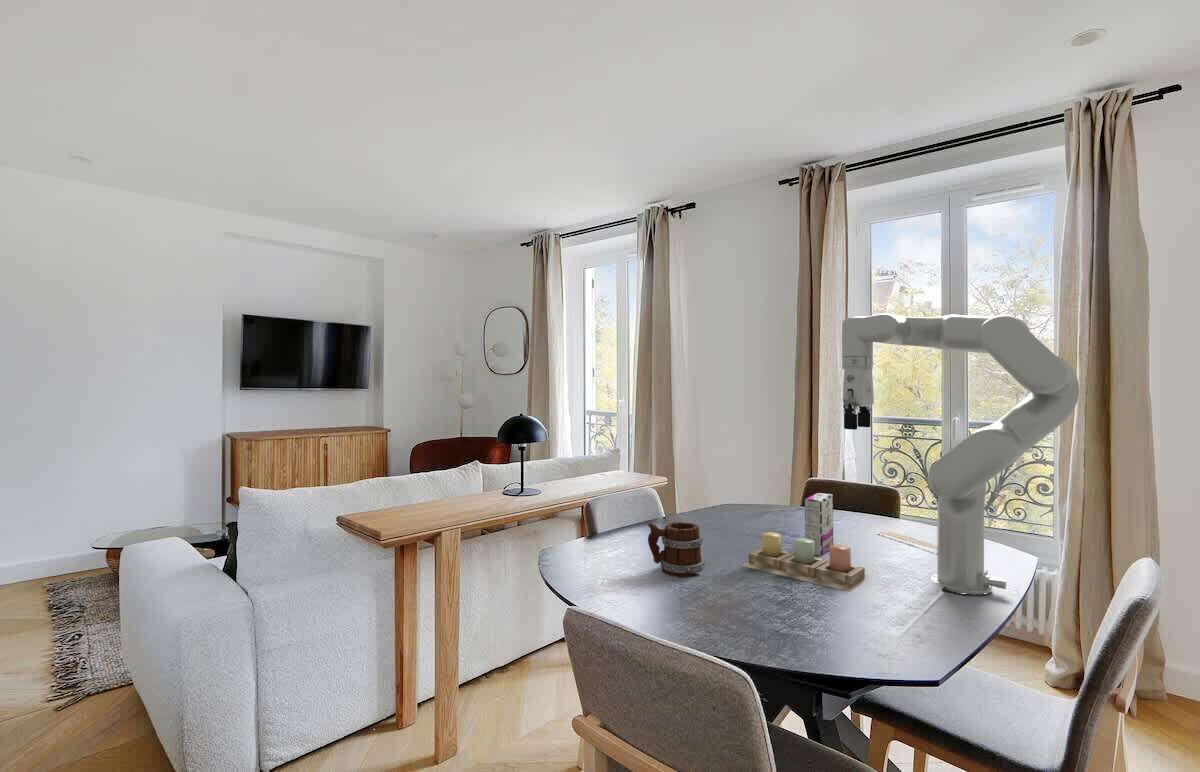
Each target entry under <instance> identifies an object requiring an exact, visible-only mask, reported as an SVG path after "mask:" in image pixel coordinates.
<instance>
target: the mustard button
mask: <svg viewBox="0 0 1200 772" xmlns="http://www.w3.org/2000/svg"><path fill="white" fill-rule="evenodd" d="M761 548H762V554H764V555H767V556H780V555H781V551H782V535H781V534H780V533H777V532H770V531H769V532H763V533H761Z"/></svg>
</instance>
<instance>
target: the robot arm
mask: <svg viewBox="0 0 1200 772" xmlns="http://www.w3.org/2000/svg"><path fill="white" fill-rule="evenodd" d="M841 323H842V324H841V369H842V370H844V372H843V380H842V381H843V383H842V385H843V386H842V403H843V404H842V407H843V429H844V430H853V431H854V430H856V431H857V430H858V427H859V428H871V411H872V409H871V407H872V406H873V405H874V403H875V395H874V394H875V393H874V380H873V372H872V370H873V369H874V343H879V344H887V345H888V344H889V345H895V346H896V345H897V346H912V347H913V346H914V347H924V348H933V349H938V350H942V351H954V352H955V351H956V352H967V353H979V354H989V355H990V356H991V357H992V358H993V359H994V360H995V361H996V363H998V364H999V365H1000V366H1001V367H1002V368H1003V369H1004V370H1005V371H1006V372H1007V373H1008V374H1009V375H1010V376H1012V378H1013V379H1014V380H1015V381H1016V382H1017V383H1018V384H1020V386H1021V387H1023V388H1024V389H1026V391H1029V393H1028V395H1027V396H1026V397H1025V398H1024V399H1023V400H1022V401H1021V402H1020V403H1018V404H1017V405H1015V406H1013V408H1012V409H1010V410H1009V411H1008V412H1007V413H1006V414H1004V415H1003V416H1002V417H1000V418H999V419H998V420H996V421H995V422H993V423H992V424H990V425H987V426H983V427H982V428H979V429H977V430H975V431H974V432H972V433H970V435H968V436H967V437H965V438H964V439H963V440H961V442H959V443H958V444H957V445H956V446H954V447H952V449H950V450H949V451H948V452H947V453H945V454H944V455H942V456H941V457H940V458H939V459H938V460H936V461H935V462H934V463H933V464H932V465H931V467H930V468H929V470H928V474H927V483H928V485H929V487H930V489H931V490H932V492H933V493H934V494H936V496H938V499H937V518H936V521H937V528H936V529H937V534H936V536H937V537H936V539H937V545H936V546H937V554H936V555H937V560H936V561H937V566H936V567H937V573H935V574H932V575H931V576H930V580H931V582H933V583H934V584H935V583H936V584H938V585H939V586H942V588H941V590H942V589H944V590H943V591H945V590H948V591H952V592H951V593H953V592H957V593H956V594H958V593H966V594H984V593H989V592H991V591H993V587H994V588H997V589H1002V590H1006V589H1007V580H1005V579H1003V577H999V576H992V575H990V574H989V573H988V568H987V569H986V568H985V505H986V503H985V502H986V501H985V500H986V490H987V483H988V482H989V481H990V480H992V479H993V478H995V477H996V476H997V475H999V474H1000V473H1002V472H1003V471H1004V470H1007V468H1009V467H1010V466H1011V465H1013V464H1015V463H1016V462H1018V460H1019V459H1020V458H1021V457H1022V456H1023V455H1024V454H1025V453H1026V452H1027V451H1029V450H1030V449H1031V448H1033V447H1034V446H1036V444H1038V443H1040V442H1041V441H1042V440H1043V439H1044V438H1046V437H1047V436H1048V435H1050V434H1051V433H1052V432H1053V431H1055V430H1056V429H1057V428H1058V427H1059V426H1060V425H1062V424H1063V423H1064V422H1065V421H1066V420H1067V419H1068V418H1069V417H1070V415H1071V414H1072V412H1074V410H1075V408H1076V406H1077V404H1078V401H1079V397H1080V396H1079V395H1080V384H1079V380H1078V376H1077V374H1076V372H1075V370H1074V367H1073V366H1072V364H1071V363H1070V362H1068V361H1067V360H1066V359H1064V358H1062V357H1060V356H1058V355H1056V354H1055V353H1054V352H1053V351H1051V350H1050V349H1049V348H1048V347H1047V346H1046V345H1044V343H1043V342H1042V341H1040V340H1039V339H1038V338H1037V337H1036V336H1035V335H1034V334H1033V333H1032V332H1031V331H1030V328H1029V326H1028V325H1027V323H1025V322H1024V321H1023V320H1021V319H1020V318H1017V317H1015V316H1011V315H1005V314H1004V315H996V316H985V315H984V316H983V315H982V316H981V315H980V316H979V315H960V314H947V315H944V316H939V317H914V316H901V315H898V314H897V315H896V314H891V313H886V312H884V313H879V314H873V315H869V316H850V317H846V318H844V319H843V321H842V322H841ZM857 409H858V411H857ZM948 591H947V592H948ZM991 593H992V592H991ZM989 594H990V593H989Z"/></svg>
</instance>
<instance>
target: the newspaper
mask: <svg viewBox="0 0 1200 772" xmlns="http://www.w3.org/2000/svg"><path fill="white" fill-rule="evenodd" d="M877 533H882V534H885V535H888V536H892V537H894V538H897V539H901V540H905V541H909V542H912V543H915V544H918V545H922V546H925V547H929V548H935V549H937V545H936V544H933V543H930V542H926V541H923V540H921V539H917V538H914V537H911V536H909V535H908V536H907V535H905V534H901V533H898V532H896V531H892V530H889V529H888V530H881V531H878V532H877ZM929 543H930V544H929ZM932 544H933V545H932ZM935 545H936V546H935Z"/></svg>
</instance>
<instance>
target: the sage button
mask: <svg viewBox="0 0 1200 772" xmlns="http://www.w3.org/2000/svg"><path fill="white" fill-rule="evenodd" d="M793 541H794V543H793V544H794V545H793V548H794V549H793V550H794V551H793V553H794V560H795V561H796V562H799V563H814V557H815V554H814V541H813V540H811V539H805V538H804V537H803V538H802V537H799V538H795V539H794V540H793Z"/></svg>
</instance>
